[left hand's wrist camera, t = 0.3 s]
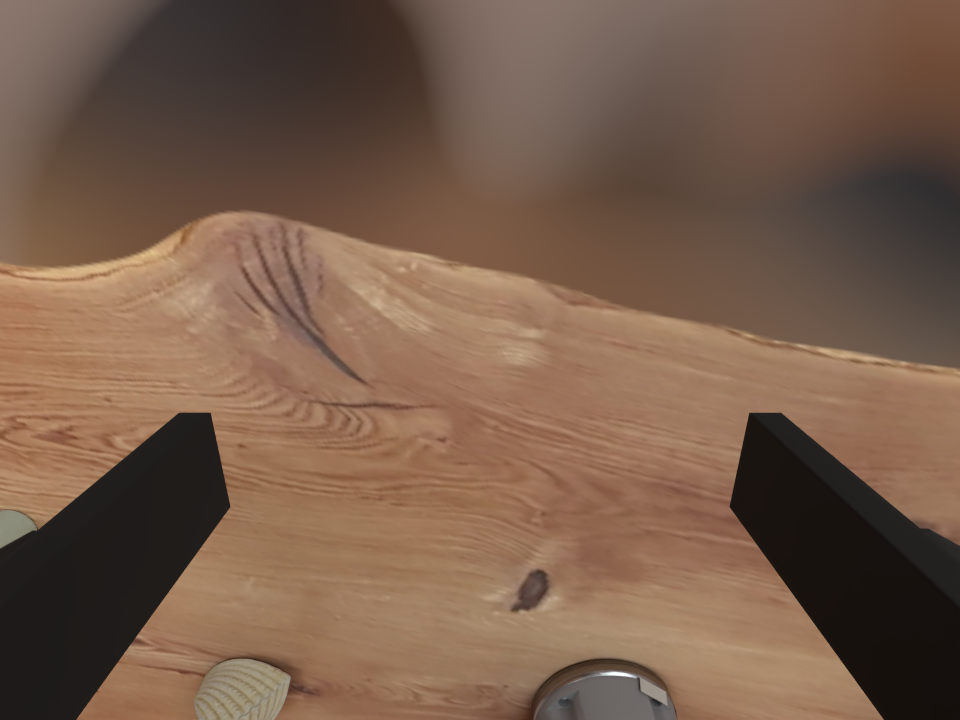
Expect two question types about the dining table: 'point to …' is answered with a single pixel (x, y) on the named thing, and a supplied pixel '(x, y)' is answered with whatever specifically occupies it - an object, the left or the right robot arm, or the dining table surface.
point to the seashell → (242, 691)
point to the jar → (14, 526)
